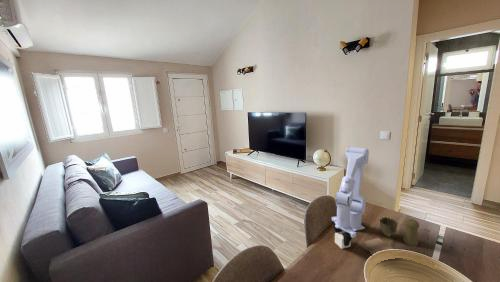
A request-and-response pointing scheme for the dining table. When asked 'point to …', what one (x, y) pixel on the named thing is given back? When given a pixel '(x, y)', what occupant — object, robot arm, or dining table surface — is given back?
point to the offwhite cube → (340, 240)
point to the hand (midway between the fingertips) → (342, 241)
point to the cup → (388, 226)
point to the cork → (411, 232)
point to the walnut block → (375, 245)
